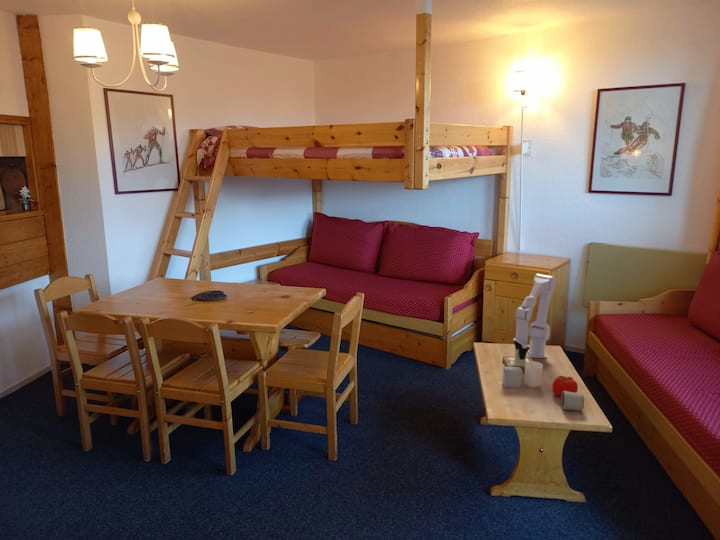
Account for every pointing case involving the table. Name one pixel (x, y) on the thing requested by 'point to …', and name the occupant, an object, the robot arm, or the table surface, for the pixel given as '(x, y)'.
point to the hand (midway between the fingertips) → (520, 356)
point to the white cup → (533, 373)
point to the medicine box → (512, 377)
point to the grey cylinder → (572, 401)
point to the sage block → (517, 358)
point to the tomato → (564, 385)
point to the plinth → (511, 362)
